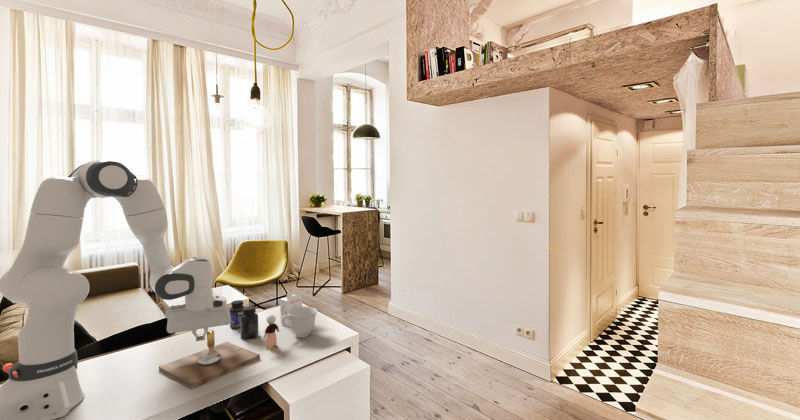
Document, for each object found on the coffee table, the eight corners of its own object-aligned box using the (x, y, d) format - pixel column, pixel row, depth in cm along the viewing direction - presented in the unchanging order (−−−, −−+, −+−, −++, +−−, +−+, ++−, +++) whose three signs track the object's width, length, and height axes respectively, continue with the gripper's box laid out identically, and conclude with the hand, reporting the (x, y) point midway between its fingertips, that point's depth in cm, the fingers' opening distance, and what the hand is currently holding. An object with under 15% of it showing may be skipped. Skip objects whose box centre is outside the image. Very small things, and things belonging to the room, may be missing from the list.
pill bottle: (239, 329, 159) (239, 304, 158) (226, 328, 160) (226, 303, 159) (248, 324, 165) (247, 300, 164) (235, 323, 166) (235, 299, 165)
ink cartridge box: (295, 319, 172) (294, 287, 171) (302, 321, 170) (302, 289, 169) (280, 324, 165) (279, 292, 164) (287, 327, 162) (287, 293, 161)
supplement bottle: (238, 336, 152) (237, 307, 151) (255, 332, 156) (255, 304, 156) (243, 341, 147) (242, 311, 146) (260, 337, 151) (260, 308, 150)
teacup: (276, 335, 153) (275, 311, 152) (309, 327, 162) (309, 304, 162) (288, 345, 144) (288, 320, 143) (322, 335, 153) (322, 311, 153)
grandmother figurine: (272, 343, 145) (271, 311, 145) (281, 344, 145) (280, 312, 144) (260, 351, 138) (260, 318, 137) (270, 352, 137) (269, 319, 136)
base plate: (191, 389, 112) (191, 383, 112) (159, 371, 123) (158, 366, 123) (259, 358, 132) (259, 354, 132) (226, 345, 143) (226, 341, 143)
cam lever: (221, 362, 125) (220, 343, 125) (197, 367, 122) (196, 347, 122) (219, 346, 138) (219, 329, 138) (198, 349, 135) (197, 332, 134)
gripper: (164, 309, 125) (165, 349, 126) (230, 300, 135) (231, 338, 136) (165, 304, 131) (167, 342, 132) (229, 296, 140) (230, 332, 141)
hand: (200, 340), depth 134 cm, fingers closed
